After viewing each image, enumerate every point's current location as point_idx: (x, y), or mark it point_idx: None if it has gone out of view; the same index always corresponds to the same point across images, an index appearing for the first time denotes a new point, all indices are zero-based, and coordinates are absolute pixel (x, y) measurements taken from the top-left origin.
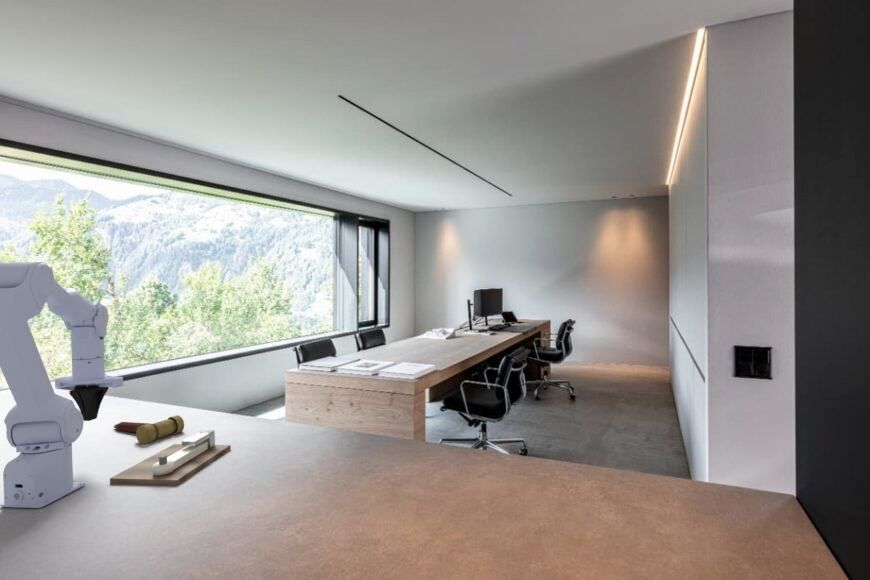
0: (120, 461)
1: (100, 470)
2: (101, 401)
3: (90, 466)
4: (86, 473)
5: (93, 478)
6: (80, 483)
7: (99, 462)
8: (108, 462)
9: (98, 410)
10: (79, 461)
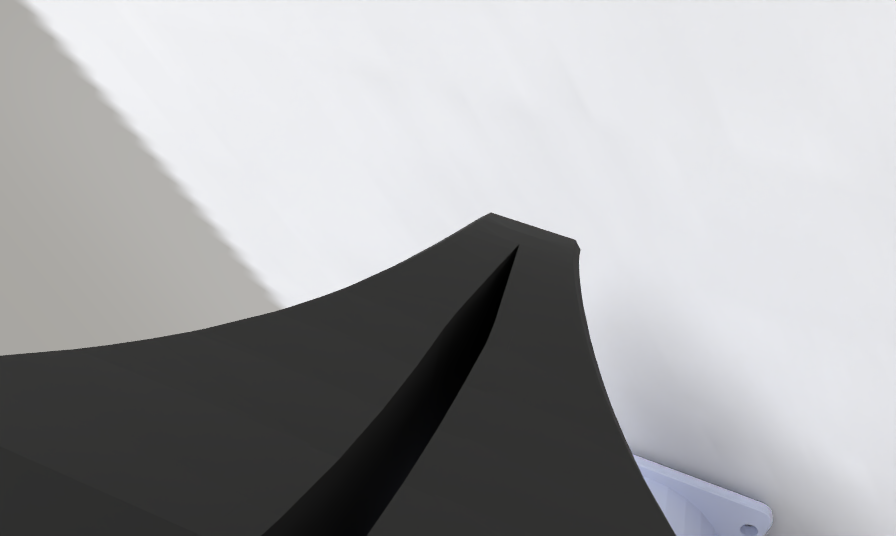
0: (876, 135)
1: (766, 295)
2: (609, 405)
3: (643, 189)
4: (681, 319)
5: (774, 417)
6: (746, 520)
7: (678, 113)
8: (764, 133)
9: (582, 303)
10: (487, 46)
